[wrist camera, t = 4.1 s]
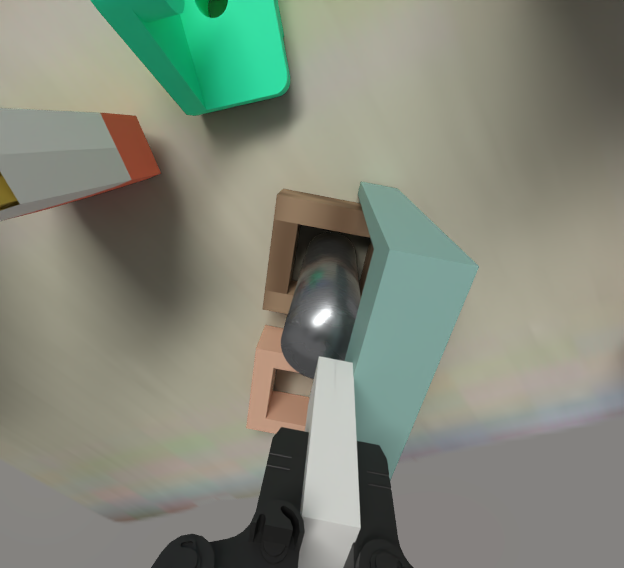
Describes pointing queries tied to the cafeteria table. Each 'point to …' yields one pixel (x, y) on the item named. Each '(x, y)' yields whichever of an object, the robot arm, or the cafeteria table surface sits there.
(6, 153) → the french fries container
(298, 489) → the robot arm
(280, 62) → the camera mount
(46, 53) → the cafeteria table surface
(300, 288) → the metal cylinder
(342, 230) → the socket block
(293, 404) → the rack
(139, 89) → the cafeteria table surface
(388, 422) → the teal green arch
